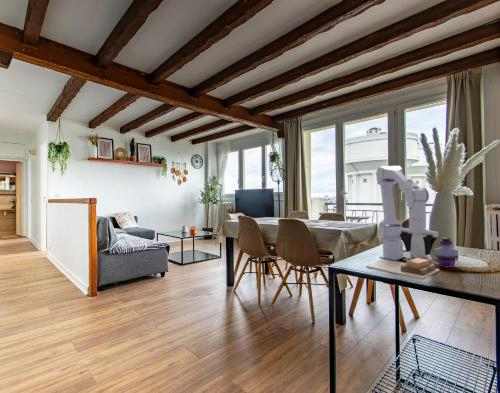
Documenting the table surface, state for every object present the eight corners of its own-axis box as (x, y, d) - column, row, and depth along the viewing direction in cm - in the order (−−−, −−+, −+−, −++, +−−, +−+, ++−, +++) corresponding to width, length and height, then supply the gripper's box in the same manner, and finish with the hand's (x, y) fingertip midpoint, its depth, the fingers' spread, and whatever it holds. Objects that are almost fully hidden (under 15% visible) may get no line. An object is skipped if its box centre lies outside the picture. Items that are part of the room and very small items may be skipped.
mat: (385, 260, 127) (385, 259, 127) (439, 270, 110) (439, 269, 110) (366, 267, 118) (366, 265, 118) (422, 279, 100) (422, 277, 100)
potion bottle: (464, 269, 110) (463, 239, 110) (440, 268, 112) (439, 239, 112) (452, 263, 119) (452, 236, 119) (430, 263, 120) (430, 236, 120)
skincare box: (416, 258, 129) (415, 233, 128) (409, 256, 133) (408, 231, 133) (428, 257, 130) (427, 232, 129) (421, 255, 134) (420, 230, 134)
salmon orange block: (406, 269, 110) (406, 260, 109) (418, 266, 113) (417, 257, 113) (418, 272, 106) (418, 263, 106) (429, 268, 109) (429, 260, 109)
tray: (414, 265, 116) (414, 260, 116) (435, 269, 110) (435, 264, 110) (400, 271, 109) (400, 266, 109) (422, 275, 103) (422, 270, 103)
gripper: (442, 219, 105) (443, 254, 105) (405, 216, 117) (406, 248, 118) (432, 220, 101) (432, 257, 102) (395, 217, 114) (395, 250, 114)
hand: (417, 252), depth 109 cm, fingers open, 7 cm apart
